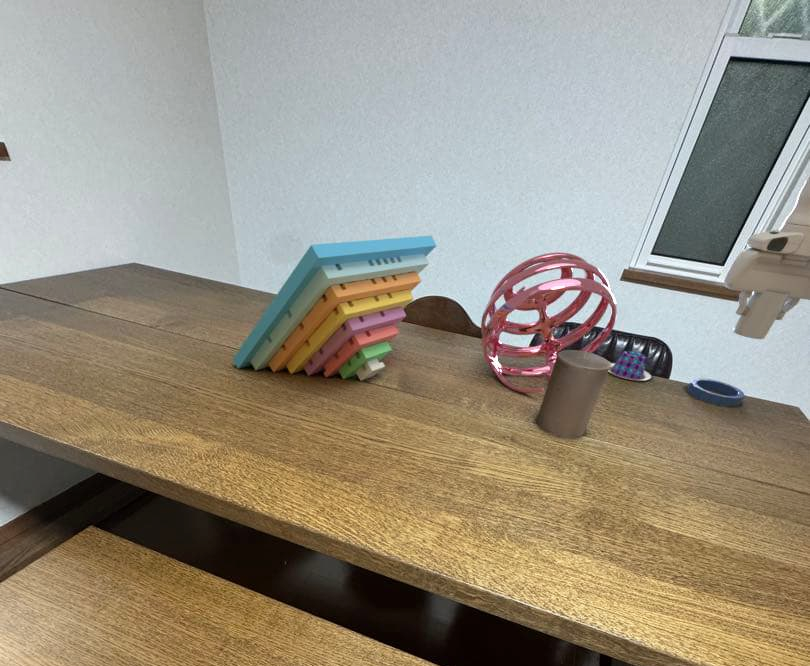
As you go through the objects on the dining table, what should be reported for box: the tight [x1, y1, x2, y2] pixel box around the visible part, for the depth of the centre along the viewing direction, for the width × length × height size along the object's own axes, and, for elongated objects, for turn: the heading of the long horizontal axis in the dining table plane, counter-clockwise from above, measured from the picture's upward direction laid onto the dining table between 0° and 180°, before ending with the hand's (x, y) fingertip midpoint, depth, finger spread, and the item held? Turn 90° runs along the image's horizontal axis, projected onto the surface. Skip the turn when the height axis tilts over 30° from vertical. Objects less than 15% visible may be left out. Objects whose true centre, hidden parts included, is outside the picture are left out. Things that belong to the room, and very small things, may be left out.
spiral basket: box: [480, 251, 618, 394], centre depth 98 cm, size 28×28×27 cm
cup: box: [732, 291, 790, 340], centre depth 99 cm, size 6×6×9 cm
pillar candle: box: [535, 349, 612, 439], centre depth 85 cm, size 10×10×15 cm
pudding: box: [608, 350, 652, 382], centre depth 118 cm, size 12×12×5 cm
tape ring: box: [686, 377, 745, 408], centre depth 112 cm, size 12×12×2 cm
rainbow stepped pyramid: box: [232, 235, 437, 382], centre depth 97 cm, size 35×18×35 cm
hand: (757, 317), depth 100 cm, fingers closed on cup, 6 cm apart
